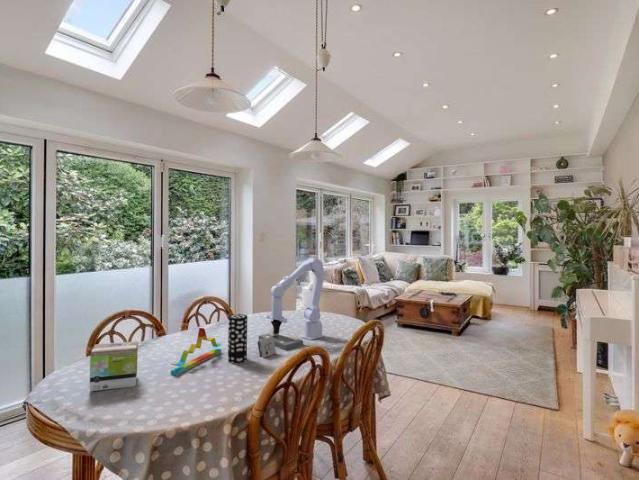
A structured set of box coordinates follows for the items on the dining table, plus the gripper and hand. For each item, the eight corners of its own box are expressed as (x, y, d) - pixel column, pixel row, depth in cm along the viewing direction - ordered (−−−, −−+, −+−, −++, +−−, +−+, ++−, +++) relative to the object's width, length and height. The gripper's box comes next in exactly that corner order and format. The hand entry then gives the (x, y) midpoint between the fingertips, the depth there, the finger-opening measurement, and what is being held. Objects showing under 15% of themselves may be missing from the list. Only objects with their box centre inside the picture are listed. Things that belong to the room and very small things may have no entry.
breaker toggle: (275, 333, 200) (275, 326, 200) (278, 334, 198) (278, 327, 198) (269, 334, 197) (269, 328, 197) (272, 336, 195) (273, 329, 195)
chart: (177, 376, 148) (177, 339, 148) (170, 375, 149) (171, 338, 149) (221, 353, 177) (222, 322, 176) (216, 352, 178) (216, 321, 177)
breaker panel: (276, 336, 206) (276, 331, 206) (303, 345, 190) (303, 340, 190) (258, 340, 197) (258, 335, 197) (285, 350, 182) (285, 345, 182)
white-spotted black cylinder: (250, 358, 169) (250, 315, 169) (240, 364, 162) (241, 319, 161) (234, 356, 172) (235, 313, 172) (224, 362, 164) (224, 317, 164)
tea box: (89, 393, 131) (89, 352, 131) (93, 382, 140) (93, 343, 140) (136, 386, 137) (136, 347, 137) (137, 376, 146) (138, 339, 146)
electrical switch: (263, 358, 170) (262, 340, 170) (256, 357, 173) (255, 339, 173) (276, 353, 177) (275, 336, 177) (269, 352, 180) (268, 335, 180)
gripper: (262, 307, 198) (262, 332, 198) (279, 311, 188) (279, 338, 188) (272, 305, 203) (272, 330, 203) (290, 309, 193) (289, 335, 193)
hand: (276, 333), depth 196 cm, fingers closed, pressing on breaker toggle
